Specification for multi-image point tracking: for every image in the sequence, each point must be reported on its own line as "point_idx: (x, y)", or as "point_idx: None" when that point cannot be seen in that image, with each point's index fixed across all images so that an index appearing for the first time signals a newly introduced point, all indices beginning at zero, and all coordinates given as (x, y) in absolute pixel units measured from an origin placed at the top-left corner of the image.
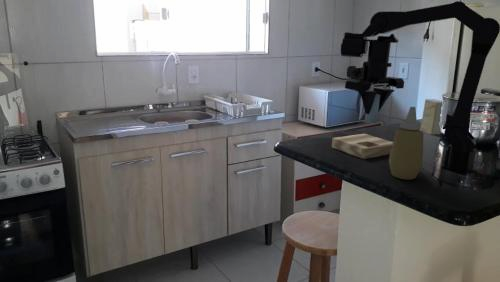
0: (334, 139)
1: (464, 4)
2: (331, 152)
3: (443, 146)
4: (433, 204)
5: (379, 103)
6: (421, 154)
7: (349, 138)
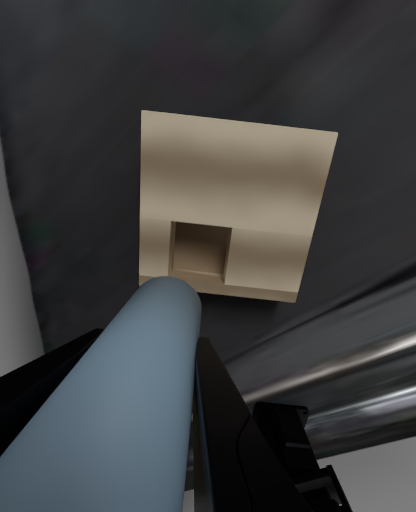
0: (142, 125)
1: None
2: (109, 173)
3: None
4: None
5: (194, 451)
6: None
7: (204, 158)
